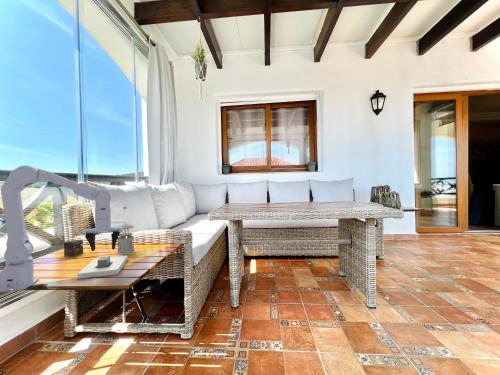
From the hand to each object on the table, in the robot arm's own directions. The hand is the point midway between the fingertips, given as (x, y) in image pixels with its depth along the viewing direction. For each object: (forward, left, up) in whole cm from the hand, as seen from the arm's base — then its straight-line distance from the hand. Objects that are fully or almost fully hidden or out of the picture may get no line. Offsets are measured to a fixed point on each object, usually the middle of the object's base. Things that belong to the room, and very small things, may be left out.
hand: (103, 249), depth 101 cm
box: (+32, +23, -9) cm, 40 cm away
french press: (+28, -3, -9) cm, 30 cm away
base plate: (+2, 0, -9) cm, 9 cm away
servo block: (0, 0, -9) cm, 9 cm away
